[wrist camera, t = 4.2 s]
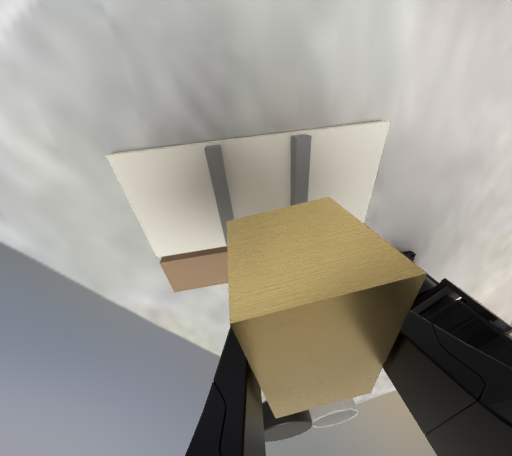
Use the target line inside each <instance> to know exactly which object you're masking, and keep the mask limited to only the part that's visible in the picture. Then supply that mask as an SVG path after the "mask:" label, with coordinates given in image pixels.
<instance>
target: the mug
mask: <svg viewBox="0 0 512 456" xmlns="http://www.w3.org/2000/svg"><path fill="white" fill-rule="evenodd" d="M309 412H310V415H311V419H312V422H313V425H312V426H313V427H318V428H319V427H328V426H332V425H336V424H339V423H342V422H344V421H347V420H349V419H351V418H353V417H355V416H356V415H357V414H358V410H357V407H356V405H355V402H354V400H353V398H349V399H345V400H342V401H338V402H334V403H331V404H327V405H324V406H320V407H316V408H313V409H309Z"/></svg>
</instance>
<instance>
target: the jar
mask: <svg viewBox="0 0 512 456" xmlns="http://www.w3.org/2000/svg"><path fill="white" fill-rule="evenodd" d="M261 395H262V409H263V423H264V437H265V442H268V441H277V440H282V439H286V438H290V437H293V436H296V435H299V434H301V433H303V432H305V431H307V430H308V429H310V428H311V427H312V425H313V422H312V419H311V415H310V412H309V410H305V411H302V412H298V413H294V414H291V415H287V416H283V417H280V418H275V416H274V414H273V412H272V410H271V408H270V406H269V404H268V402H267V400H266V397H265V395H264V393H263V391H262V389H261Z"/></svg>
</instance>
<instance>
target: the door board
mask: <svg viewBox="0 0 512 456" xmlns="http://www.w3.org/2000/svg"><path fill="white" fill-rule="evenodd" d="M389 125H390V121H374V122H366V123H358V124H349V125H341V126H333V127H325V128H316V129H308V130H300V131H291V132H283V133H275V134H267V135H258V136H250V137H242V138H234V139H225V140H217V141H209V142H200V143H192V144H184V145H176V146H167V147H159V148H151V149H143V150H134V151H126V152H118V153H112V154H109V155H106V157H107V159H108V161H109V163H110V165H111V167H112V169H113V171H114V173H115V175H116V177H117V179H118V181H119V183H120V185H121V187H122V189H123V191H124V193H125V195H126V197H127V199H128V201H129V203H130V205H131V207H132V209H133V211H134V213H135V215H136V217H137V219H138V221H139V223H140V225H141V227H142V229H143V231H144V233H145V235H146V237H147V239H148V241H149V243H150V245H151V247H152V249H153V251H154V253H155V255H156V257H162V259H161V261H160V264H161V266H162V268H163V270H164V272H165V274H166V276H167V278H168V280H169V282H170V284H171V286H172V288H173V290H174V292H178V291H184V290H190V289H195V288H201V287H207V286H212V285H218V284H223V283H229V281H228V251H227V222H226V221H229V220H233V219H237V218H242V217H246V216H250V215H254V214H258V213H262V212H267V211H271V210H275V209H279V208H283V207H288V206H292V205H296V204H300V203H304V202H308V201H313V200H317V199H321V198H325V197H330V198H332V199H333V200H334V201H335V202H337V203H338V204H339V205H341V206H342V207H343V208H344V209H346V210H347V211H348V212H350V213H351V214H352V215H353V216H355V217H356V218H357V219H358V220H360V221H361V222H362V223H364V222H365V218H366V214H367V210H368V206H369V202H370V198H371V194H372V191H373V187H374V183H375V179H376V175H377V171H378V167H379V163H380V159H381V156H382V152H383V148H384V144H385V140H386V136H387V132H388V128H389Z"/></svg>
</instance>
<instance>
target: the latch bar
mask: <svg viewBox="0 0 512 456" xmlns="http://www.w3.org/2000/svg"><path fill="white" fill-rule="evenodd" d="M226 222H227V251H228V281H229V311H230V325H231V327H232V329H233V331H234V333H235V335H236V337H237V339H238V342H239V344H240V346H241V348H242V350H243V352H244V354H245V356H246V358H247V360H248V362H249V364H250V366H251V368H252V371H253V373H254V375H255V377H256V379H257V381H258V383H259V385H260V387H261V389H262V391H263V393H264V395H265V397H266V400H267V402H268V404H269V406H270V408H271V410H272V412H273V414H274V416H275V418H280V417H283V416H287V415H291V414H294V413H298V412H302V411H305V410H309V409H313V408H316V407H320V406H324V405H327V404H331V403H334V402H338V401H342V400H345V399H349V398H353V397H356V396H360V395H364V394H367V393H371V391H372V389H373V386H374V384H375V382H376V380H377V378H378V376H379V374H380V372H381V370H382V368H383V365H384V363H385V361H386V359H387V357H388V355H389V353H390V351H391V349H392V346H393V344H394V342H395V340H396V338H397V336H398V334H399V332H400V330H401V328H402V325H403V323H404V321H405V319H406V317H407V315H408V313H409V311H410V309H411V307H412V304H413V302H414V300H415V298H416V296H417V294H418V292H419V290H420V288H421V285H422V283H423V281H424V279H425V277H426V275H427V273H426V272H425V271H424V270H422V269H421V268H420V267H418V266H417V265H416V264H415V263H413V262H412V261H411V260H410V259H408V258H407V257H406V256H404V255H403V254H402V253H401V252H399V251H398V250H397V249H395V248H394V247H393V246H392V245H390V244H389V243H388V242H387V241H385V240H384V239H383V238H381V237H380V236H379V235H378V234H376V233H375V232H374V231H373V230H371V229H370V228H369V227H367V226H366V225H365V224H364V223H362V222H361V221H360V220H358V219H357V218H356V217H355V216H353V215H352V214H351V213H350V212H348V211H347V210H346V209H344V208H343V207H342V206H341V205H339V204H338V203H337V202H335V201H334V200H333V199H332V198H330V197H325V198H321V199H317V200H313V201H308V202H304V203H300V204H296V205H292V206H288V207H283V208H279V209H275V210H271V211H267V212H262V213H258V214H254V215H250V216H246V217H242V218H237V219H233V220H229V221H226Z"/></svg>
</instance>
